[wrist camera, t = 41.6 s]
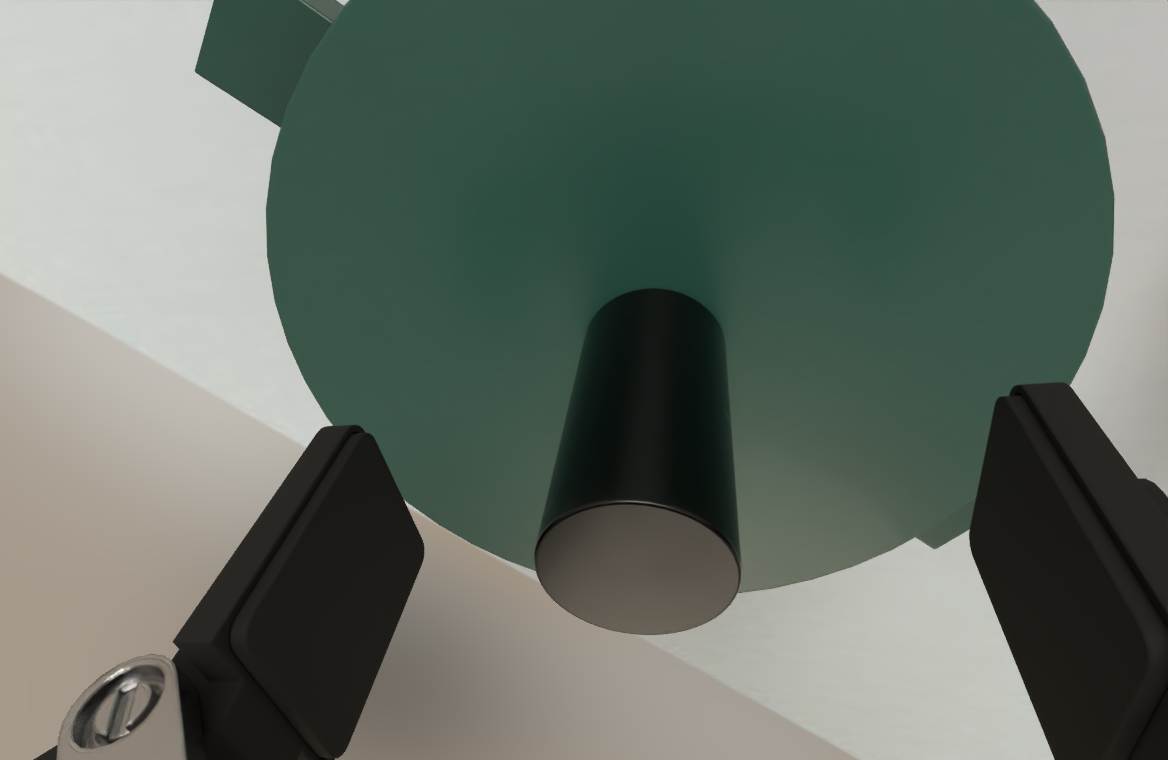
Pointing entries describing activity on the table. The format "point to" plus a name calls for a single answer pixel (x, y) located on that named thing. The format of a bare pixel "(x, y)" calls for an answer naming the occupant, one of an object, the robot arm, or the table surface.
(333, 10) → the pot
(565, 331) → the lid
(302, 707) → the robot arm
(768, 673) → the table surface
